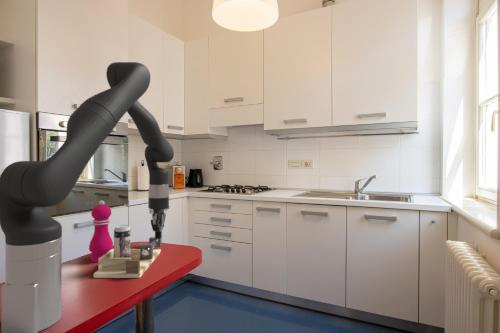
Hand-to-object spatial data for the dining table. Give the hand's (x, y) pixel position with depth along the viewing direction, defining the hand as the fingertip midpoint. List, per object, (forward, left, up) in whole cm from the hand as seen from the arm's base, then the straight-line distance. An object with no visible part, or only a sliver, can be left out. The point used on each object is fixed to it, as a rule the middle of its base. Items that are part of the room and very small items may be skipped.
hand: (158, 240), depth 110 cm
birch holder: (-17, +4, -3) cm, 17 cm away
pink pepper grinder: (-13, +16, -3) cm, 20 cm away
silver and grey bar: (-10, 0, -1) cm, 10 cm away
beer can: (-21, +5, -2) cm, 22 cm away
